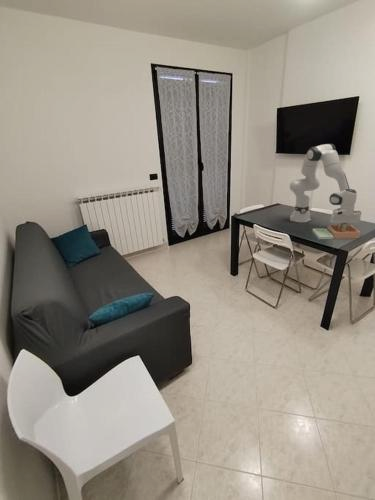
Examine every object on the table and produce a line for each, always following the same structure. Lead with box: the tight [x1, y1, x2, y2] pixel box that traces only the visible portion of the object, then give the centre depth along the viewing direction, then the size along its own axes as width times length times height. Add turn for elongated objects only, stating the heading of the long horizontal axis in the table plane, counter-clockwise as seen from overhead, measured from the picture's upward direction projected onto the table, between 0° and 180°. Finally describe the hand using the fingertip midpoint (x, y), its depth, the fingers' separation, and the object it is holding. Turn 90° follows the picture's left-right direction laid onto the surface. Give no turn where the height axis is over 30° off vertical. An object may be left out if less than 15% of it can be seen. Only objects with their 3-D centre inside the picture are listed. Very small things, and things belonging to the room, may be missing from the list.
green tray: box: [312, 228, 334, 241], centre depth 195 cm, size 18×10×3 cm, turn 170°
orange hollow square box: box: [326, 224, 361, 240], centre depth 191 cm, size 17×17×6 cm
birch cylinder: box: [340, 223, 348, 232], centre depth 190 cm, size 4×4×8 cm
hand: (343, 228), depth 190 cm, fingers closed on birch cylinder, 4 cm apart
